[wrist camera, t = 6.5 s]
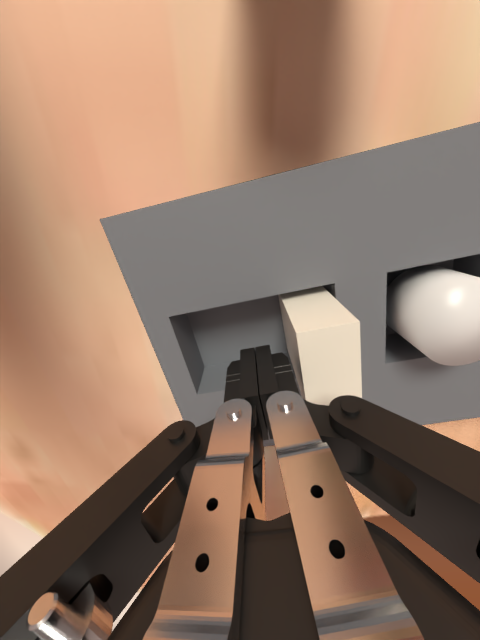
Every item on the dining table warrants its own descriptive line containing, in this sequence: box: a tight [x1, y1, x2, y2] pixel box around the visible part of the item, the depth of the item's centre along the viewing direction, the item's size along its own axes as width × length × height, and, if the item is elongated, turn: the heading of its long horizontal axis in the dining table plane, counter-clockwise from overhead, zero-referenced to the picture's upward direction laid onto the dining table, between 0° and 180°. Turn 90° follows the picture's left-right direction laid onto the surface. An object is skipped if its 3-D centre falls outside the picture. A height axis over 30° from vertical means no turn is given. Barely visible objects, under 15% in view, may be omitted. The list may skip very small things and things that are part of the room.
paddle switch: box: [278, 286, 362, 406], centre depth 13 cm, size 2×4×6 cm, turn 13°
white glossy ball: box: [386, 265, 480, 366], centre depth 13 cm, size 4×4×4 cm
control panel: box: [100, 122, 480, 446], centre depth 14 cm, size 30×16×4 cm, turn 103°
